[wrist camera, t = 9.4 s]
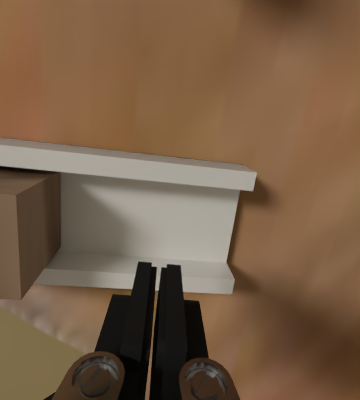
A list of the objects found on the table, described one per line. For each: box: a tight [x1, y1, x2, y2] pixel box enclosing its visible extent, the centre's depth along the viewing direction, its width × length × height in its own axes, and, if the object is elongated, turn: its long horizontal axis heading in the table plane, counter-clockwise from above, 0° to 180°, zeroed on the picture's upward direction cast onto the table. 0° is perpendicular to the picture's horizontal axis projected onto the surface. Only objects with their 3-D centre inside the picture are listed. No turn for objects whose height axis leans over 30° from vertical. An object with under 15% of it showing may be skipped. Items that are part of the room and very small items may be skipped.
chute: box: [0, 138, 257, 294], centre depth 18 cm, size 20×9×3 cm, turn 83°
